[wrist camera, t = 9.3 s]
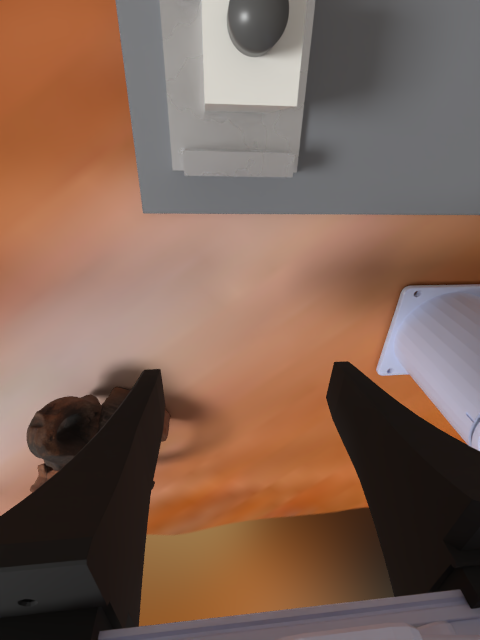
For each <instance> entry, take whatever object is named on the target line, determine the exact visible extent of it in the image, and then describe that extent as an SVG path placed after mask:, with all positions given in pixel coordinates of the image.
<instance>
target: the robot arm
mask: <svg viewBox="0 0 480 640" xmlns="http://www.w3.org/2000/svg"><path fill="white" fill-rule="evenodd" d="M416 291H418V292H417V293H416V294H415V295H414V293H415V292H416ZM388 369H389V370H388ZM376 371H377V372H378V374H379V375H404V374H410V376H411V377H412V378H413V379H414V381H415V382H416V383H417V384H418V385H419V387H420V388H421V389H422V390H423V391H424V393H425V394H426V395H427V396H428V397H429V399H430V400H431V401H432V402H433V403H434V405H435V406H436V407H437V408H438V409H439V411H440V412H441V413H442V414H443V415H444V417H445V418H446V419H447V420H448V421H449V423H450V424H451V425H452V426H453V428H454V429H455V430H456V431H457V432H458V434H459V435H460V436H461V437H462V438H463V440H464V441H465V442H466V443H467V444H468V445H467V444H465V443H463V442H461V441H459V440H457V439H456V438H454V437H452V436H450V435H448V434H447V433H445V432H443V431H441V430H440V429H438V428H436V427H435V426H433V425H432V424H430V423H429V422H427V421H425V420H424V419H422V418H421V417H419V416H418V415H416V414H415V413H413V412H412V411H410V410H409V409H408V408H406V407H405V406H403V405H402V404H401V403H399V402H398V401H397V400H395V399H394V398H393V397H391V396H390V395H389V394H388V393H386V392H385V391H384V390H383V389H381V388H380V387H379V386H378V385H376V384H375V383H374V382H373V381H372V380H370V379H369V378H368V377H367V376H365V375H364V374H363V373H362V372H361V371H359V370H358V369H357V368H356V367H355V366H353V365H352V364H351V363H350V362H334V365H333V370H332V374H331V378H330V383H329V387H328V391H327V396H326V399H327V402H328V406H329V409H330V412H331V415H332V419H333V421H334V423H335V426H336V428H337V430H338V432H339V435H340V437H341V439H342V441H343V443H344V446H345V448H346V450H347V452H348V454H349V456H350V459H351V461H352V463H353V465H354V467H355V470H356V472H357V474H358V477H359V479H360V482H361V485H362V488H363V491H364V494H365V497H366V500H367V503H368V506H369V509H370V511H371V515H372V518H373V521H374V524H375V528H376V531H377V534H378V538H379V541H380V545H381V548H382V551H383V555H384V558H385V562H386V566H387V570H388V573H389V577H390V581H391V585H392V589H393V593H394V596H395V597H391V598H382V599H373V600H365V601H356V602H348V603H339V604H330V605H321V606H313V607H304V608H296V609H287V610H278V611H270V612H261V613H253V614H244V615H235V616H227V617H218V618H209V619H201V620H192V621H183V622H175V623H167V624H158V625H150V626H140V627H139V615H140V600H141V587H142V576H143V564H144V552H145V543H146V532H147V522H148V513H149V504H150V495H151V489H152V483H153V478H154V473H155V468H156V463H157V459H158V454H159V449H160V444H161V439H162V434H163V428H164V417H165V400H164V392H163V385H162V377H161V370H160V369H153V370H144V371H143V372H142V374H141V375H140V377H139V378H138V380H137V382H136V383H135V385H134V386H133V388H132V389H131V391H130V392H129V393H128V395H127V396H126V398H125V399H124V400H123V402H122V403H121V404H120V406H119V407H118V409H117V410H116V411H115V412H114V414H113V415H112V416H111V417H110V419H109V420H108V421H107V422H106V423H105V425H104V426H103V427H102V428H101V429H100V430H99V432H98V433H97V434H96V435H95V436H94V437H93V438H92V439H91V440H90V441H89V442H88V443H87V445H86V446H85V447H84V448H83V449H82V450H81V451H80V452H79V453H78V454H76V455H75V456H74V457H73V458H72V459H71V460H70V461H69V462H68V463H67V464H66V465H65V466H64V467H63V468H62V469H60V470H59V471H58V472H57V473H56V474H55V475H53V476H52V477H51V478H50V479H49V480H47V481H46V482H45V483H44V484H43V485H41V486H40V487H39V488H38V489H37V490H35V491H34V492H33V493H32V494H30V495H29V496H28V497H26V498H25V499H24V500H22V501H21V502H20V503H18V504H17V505H15V506H14V507H13V508H11V509H10V510H8V511H7V512H6V513H4V514H3V515H2V516H0V640H480V284H469V285H413V286H407V287H405V288H404V289H403V290H402V292H401V295H400V298H399V301H398V304H397V307H396V310H395V313H394V316H393V319H392V322H391V325H390V328H389V332H388V335H387V338H386V341H385V344H384V347H383V350H382V353H381V356H380V359H379V362H378V366H377V369H376Z"/></svg>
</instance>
